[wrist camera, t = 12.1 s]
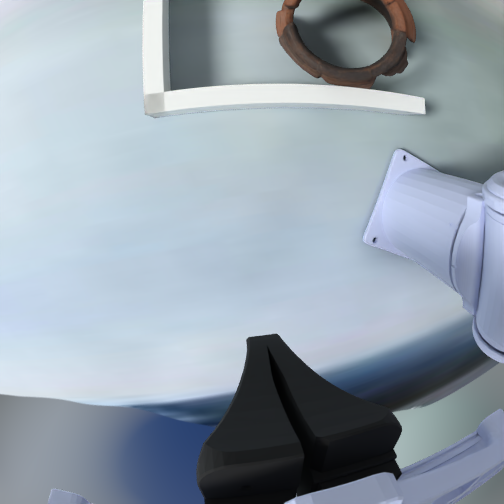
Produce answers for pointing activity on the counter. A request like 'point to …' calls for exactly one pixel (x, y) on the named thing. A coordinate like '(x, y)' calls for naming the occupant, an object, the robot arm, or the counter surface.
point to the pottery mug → (392, 62)
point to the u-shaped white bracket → (246, 85)
